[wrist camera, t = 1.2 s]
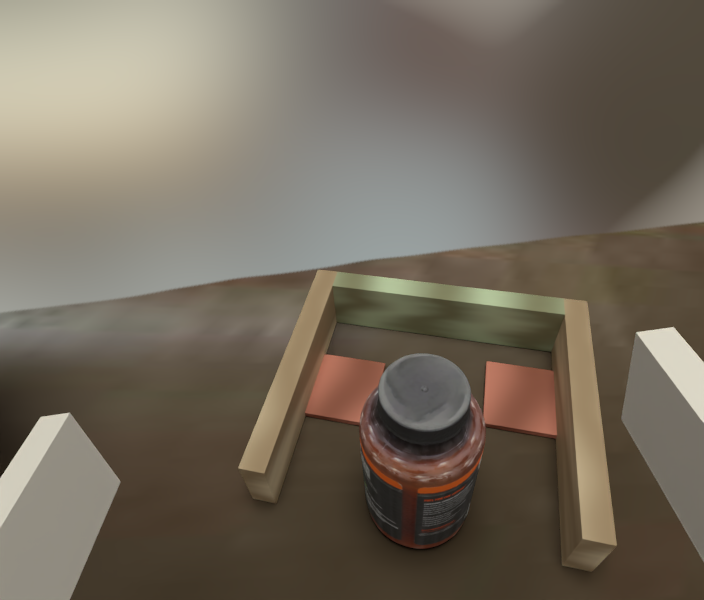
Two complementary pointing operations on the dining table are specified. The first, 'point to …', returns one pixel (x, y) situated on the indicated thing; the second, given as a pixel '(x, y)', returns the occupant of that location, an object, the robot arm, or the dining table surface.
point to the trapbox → (499, 394)
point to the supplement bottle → (421, 450)
